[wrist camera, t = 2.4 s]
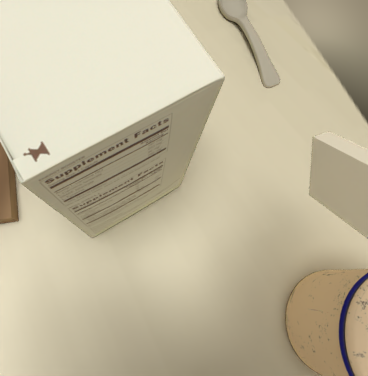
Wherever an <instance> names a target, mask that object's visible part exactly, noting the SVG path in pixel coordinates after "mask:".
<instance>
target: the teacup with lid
mask: <svg viewBox="0 0 368 376" xmlns="http://www.w3.org/2000/svg"><path fill="white" fill-rule="evenodd" d="M286 327H287V332H288V336H289V339H290V342H291V344H292V346H293V348H294V350H295V352H296V353H297V355H298V356H299V358H300V359H301V360H302V361H303V362H304V363H305V364H306V365H307V366H308V367H309V368H311V369H312V370H313V371H315V372H317V373H319V374H320V375H322V376H368V269H353V270H322V271H318V272H315V273H312V274H310V275H308V276H307V277H305V278H304V279H303V280H301V281H300V282H299V283H298V285H297V286H296V287H295V289H294V290H293V292H292V294H291V296H290V298H289V301H288V304H287V309H286Z"/></svg>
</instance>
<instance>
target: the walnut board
mask: <svg viewBox="0 0 368 376" xmlns="http://www.w3.org/2000/svg"><path fill="white" fill-rule="evenodd" d="M15 221H18V210H17V196H16V182H15V170H14V168H13V166H12V164H11V162H10V160H9V158H8V156H7V154H6V152H5V150H4V148H3V146H2V144H1V142H0V224H2V223H8V222H15Z"/></svg>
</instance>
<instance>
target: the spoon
mask: <svg viewBox="0 0 368 376" xmlns="http://www.w3.org/2000/svg"><path fill="white" fill-rule="evenodd" d="M218 5H219V8H220V11H221V13H222V14H223V15H224V17H225V18H227V19H228V20H230V21H233V22H236V23H237V24H238V25H239V26H240V27H241V29H242V30H243V32H244V33H245V35H246V37H247V39H248V41H249V43H250V46H251V48H252V51H253V53H254V56H255V59H256V62H257V65H258V69H259V73H260V77H261V81H262V84H263V85H264V87H266V88H271V87H273V86H276V85H278V84H279V83H280V77H279V75H278V73H277V71H276V69H275V67H274V65H273V64H272V62H271V60H270V58H269V56H268V54H267V51H266V49H265V47H264V45H263V43H262V41H261V39H260V38H259V36H258V34H257V32H256V31H255V29H254V28H253V26H252V24H251V23H250V21H249V19H248V17H247V2H246V0H218Z"/></svg>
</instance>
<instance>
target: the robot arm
mask: <svg viewBox="0 0 368 376" xmlns="http://www.w3.org/2000/svg"><path fill="white" fill-rule="evenodd" d="M309 195H310V196H311V197H313V198H314V199H315V200H317V201H318V202H319V203H321V204H322V205H323V206H325V207H326V208H327V209H329V210H330V211H331V212H333V213H334V214H335V215H337V216H338V217H339V218H341V219H342V220H343V221H345V222H346V223H347V224H349V225H350V226H351V227H353V228H354V229H355V230H357V231H358V232H359V233H361V234H362V235H363V236H365V237H366V238H367V239H368V149H366V148H364V147H362V146H360V145H358V144H356V143H354V142H351V141H349V140H347V139H345V138H343V137H341V136H339V135H336V134H334V133H332V132H330V131H328V132H325V133H322V134H319V135H316V136H313V139H312V155H311V170H310V186H309Z"/></svg>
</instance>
